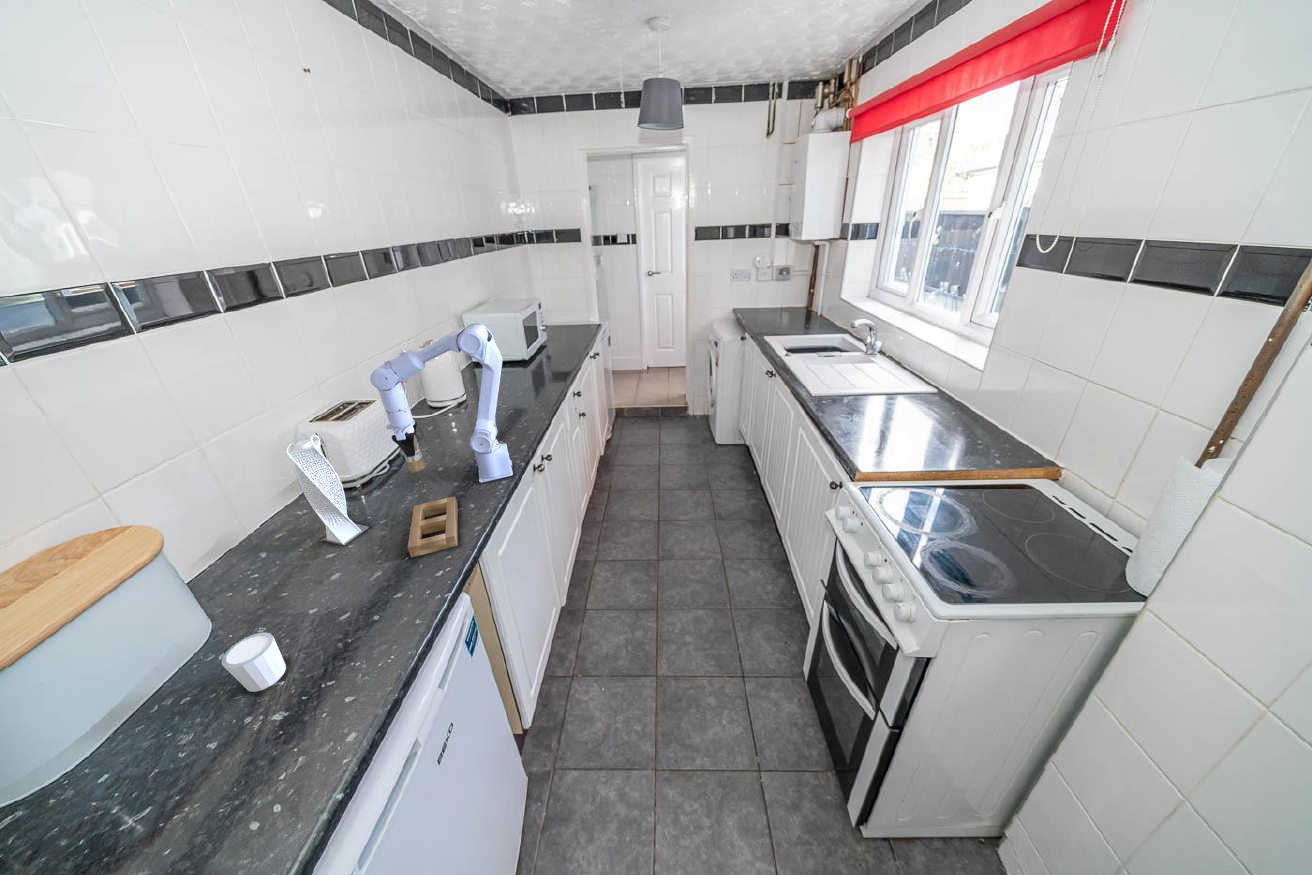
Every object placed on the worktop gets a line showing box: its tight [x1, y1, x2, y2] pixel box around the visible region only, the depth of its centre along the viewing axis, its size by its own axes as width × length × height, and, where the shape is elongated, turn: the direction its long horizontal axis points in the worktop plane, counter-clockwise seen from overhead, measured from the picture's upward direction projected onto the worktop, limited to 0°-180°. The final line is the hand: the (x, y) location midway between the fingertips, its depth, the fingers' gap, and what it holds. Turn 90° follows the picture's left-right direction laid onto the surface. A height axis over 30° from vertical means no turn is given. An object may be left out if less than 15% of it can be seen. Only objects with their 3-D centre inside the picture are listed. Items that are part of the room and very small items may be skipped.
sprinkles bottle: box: [401, 426, 427, 473], centre depth 128 cm, size 5×5×14 cm
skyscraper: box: [285, 433, 370, 546], centre depth 106 cm, size 8×8×28 cm
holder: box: [407, 495, 459, 558], centre depth 112 cm, size 10×18×3 cm, turn 21°
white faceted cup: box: [221, 632, 287, 693], centre depth 77 cm, size 7×7×7 cm
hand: (412, 452), depth 129 cm, fingers closed on sprinkles bottle, 4 cm apart
